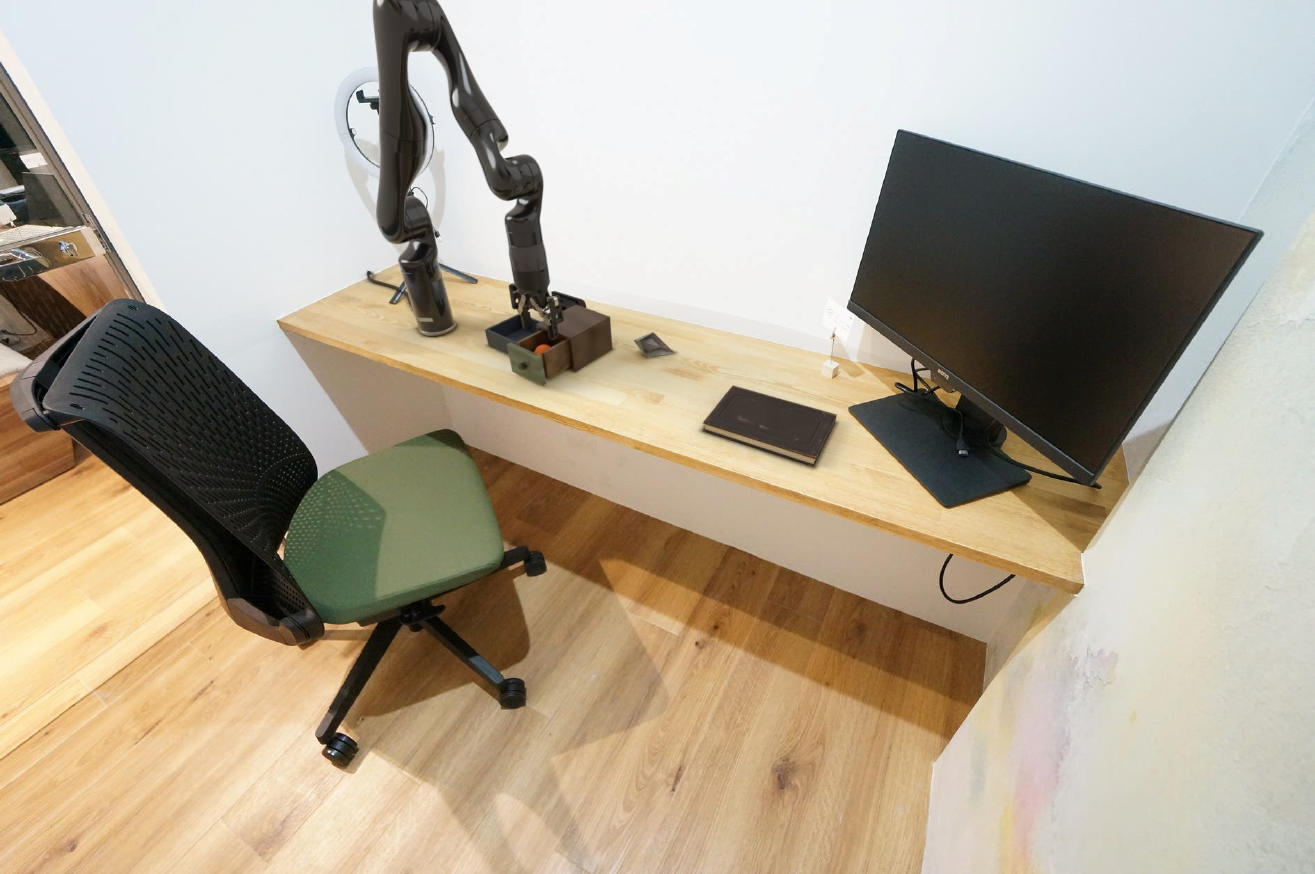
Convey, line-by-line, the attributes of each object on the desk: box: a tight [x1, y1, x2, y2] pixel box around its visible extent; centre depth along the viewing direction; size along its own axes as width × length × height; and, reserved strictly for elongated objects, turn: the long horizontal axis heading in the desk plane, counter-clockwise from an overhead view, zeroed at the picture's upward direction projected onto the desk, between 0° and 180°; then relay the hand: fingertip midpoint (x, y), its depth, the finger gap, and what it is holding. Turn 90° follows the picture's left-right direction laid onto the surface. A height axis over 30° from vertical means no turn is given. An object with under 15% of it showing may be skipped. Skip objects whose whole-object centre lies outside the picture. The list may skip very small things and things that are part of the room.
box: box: [484, 313, 542, 356], centre depth 136 cm, size 14×12×5 cm
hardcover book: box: [702, 384, 838, 468], centre depth 109 cm, size 16×23×2 cm
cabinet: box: [536, 305, 613, 373], centre depth 130 cm, size 14×12×9 cm
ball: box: [534, 345, 551, 365], centre depth 124 cm, size 5×5×5 cm
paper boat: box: [632, 331, 675, 358], centre depth 130 cm, size 12×6×9 cm
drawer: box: [507, 329, 572, 387], centre depth 124 cm, size 14×10×7 cm
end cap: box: [543, 290, 587, 318], centre depth 146 cm, size 10×7×7 cm
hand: (540, 333), depth 121 cm, fingers open, 8 cm apart
